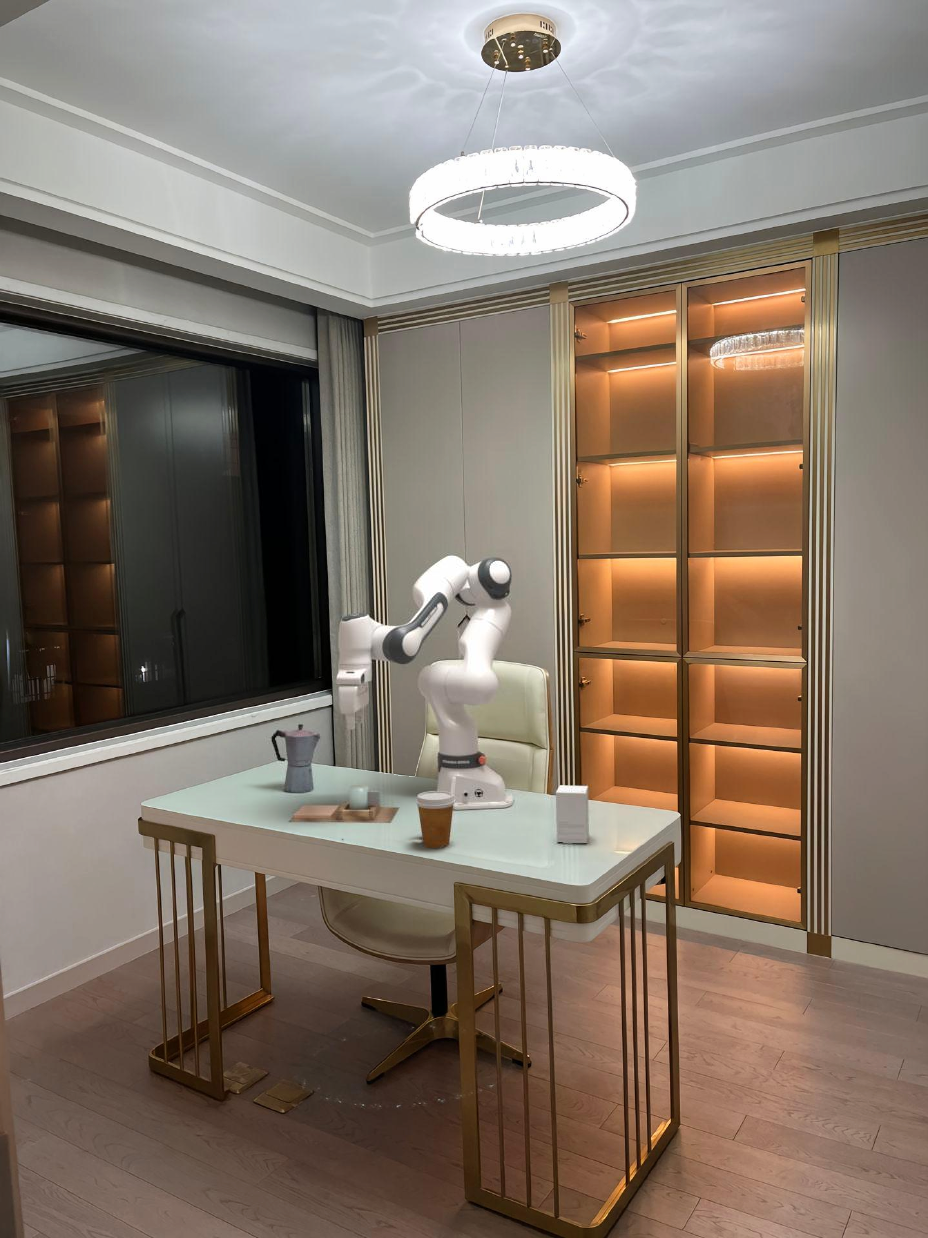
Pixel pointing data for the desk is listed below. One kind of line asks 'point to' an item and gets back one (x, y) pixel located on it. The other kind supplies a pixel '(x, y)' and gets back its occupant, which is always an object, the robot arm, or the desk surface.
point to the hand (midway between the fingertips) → (355, 726)
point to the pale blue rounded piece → (363, 797)
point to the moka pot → (298, 758)
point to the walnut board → (356, 815)
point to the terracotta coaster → (316, 811)
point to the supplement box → (572, 814)
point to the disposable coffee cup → (435, 817)
